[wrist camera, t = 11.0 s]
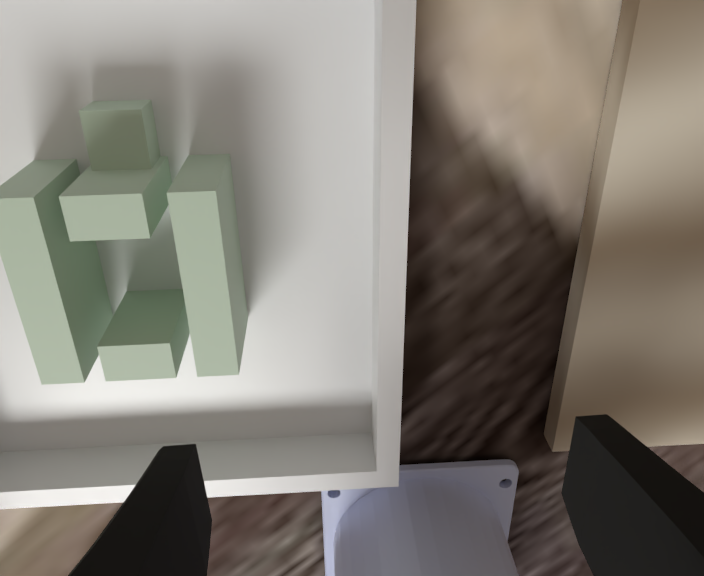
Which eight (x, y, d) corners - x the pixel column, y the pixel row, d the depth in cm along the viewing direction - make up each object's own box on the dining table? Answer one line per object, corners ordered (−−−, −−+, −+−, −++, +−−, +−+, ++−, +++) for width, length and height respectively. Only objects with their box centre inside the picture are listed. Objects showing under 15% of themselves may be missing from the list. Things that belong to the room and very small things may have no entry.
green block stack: (248, 317, 21) (239, 374, 18) (78, 325, 20) (41, 384, 18) (223, 97, 17) (207, 125, 14) (18, 103, 17) (-39, 133, 14)
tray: (390, 438, 24) (398, 486, 22) (-17, 460, 23) (-50, 511, 21) (403, -81, 16) (419, -86, 14) (-229, -76, 15) (-321, -81, 13)
